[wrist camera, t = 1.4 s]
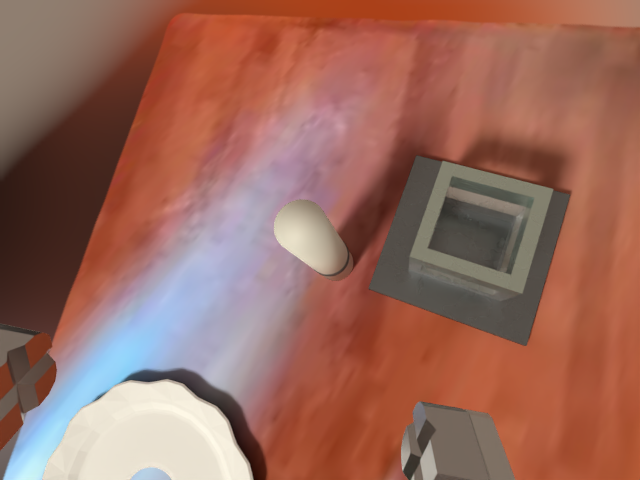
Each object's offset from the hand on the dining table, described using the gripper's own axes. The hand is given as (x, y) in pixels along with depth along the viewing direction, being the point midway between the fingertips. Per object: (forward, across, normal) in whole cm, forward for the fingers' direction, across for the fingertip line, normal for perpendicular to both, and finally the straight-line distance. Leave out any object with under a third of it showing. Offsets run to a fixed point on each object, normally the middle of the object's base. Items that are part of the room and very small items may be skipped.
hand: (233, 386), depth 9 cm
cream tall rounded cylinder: (+32, -4, +15) cm, 35 cm away
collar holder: (+32, -17, +10) cm, 37 cm away
